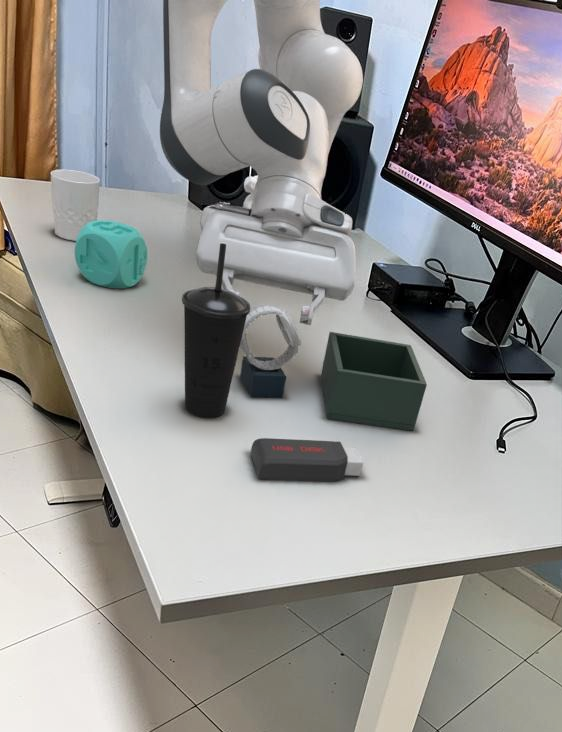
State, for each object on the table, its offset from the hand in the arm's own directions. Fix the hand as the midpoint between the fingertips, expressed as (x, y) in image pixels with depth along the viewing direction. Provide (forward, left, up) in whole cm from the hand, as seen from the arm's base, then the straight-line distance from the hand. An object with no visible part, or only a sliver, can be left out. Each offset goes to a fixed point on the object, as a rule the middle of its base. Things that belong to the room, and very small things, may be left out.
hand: (268, 315), depth 96 cm
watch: (+1, 0, -10) cm, 10 cm away
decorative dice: (-30, -24, -10) cm, 40 cm away
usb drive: (+20, +5, -10) cm, 23 cm away
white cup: (-49, -33, -10) cm, 60 cm away
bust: (-77, -1, -10) cm, 78 cm away
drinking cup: (+9, -7, -10) cm, 15 cm away
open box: (+1, +15, -10) cm, 18 cm away
